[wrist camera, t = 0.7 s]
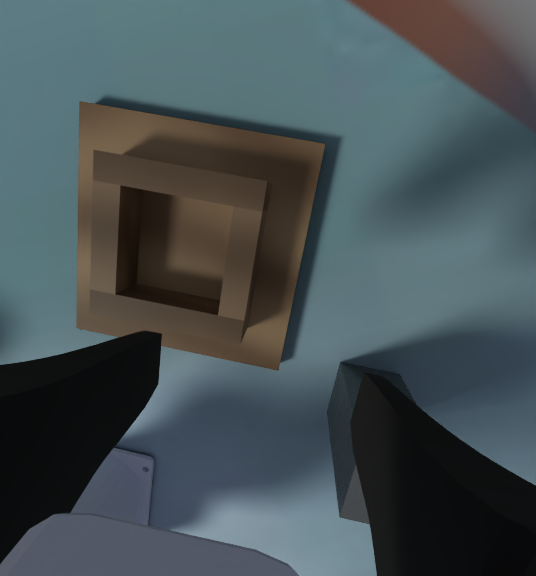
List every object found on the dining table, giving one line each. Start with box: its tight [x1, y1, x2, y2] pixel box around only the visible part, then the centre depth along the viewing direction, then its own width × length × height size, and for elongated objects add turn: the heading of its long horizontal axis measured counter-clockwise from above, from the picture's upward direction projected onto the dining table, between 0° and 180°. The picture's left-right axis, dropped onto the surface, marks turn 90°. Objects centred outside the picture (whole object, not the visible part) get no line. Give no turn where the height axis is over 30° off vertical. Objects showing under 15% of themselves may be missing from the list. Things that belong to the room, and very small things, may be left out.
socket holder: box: [76, 101, 325, 370], centre depth 19 cm, size 14×14×4 cm
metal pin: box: [327, 362, 416, 524], centre depth 19 cm, size 4×4×8 cm
